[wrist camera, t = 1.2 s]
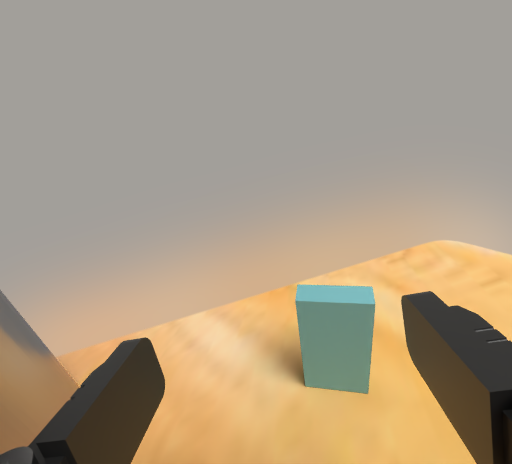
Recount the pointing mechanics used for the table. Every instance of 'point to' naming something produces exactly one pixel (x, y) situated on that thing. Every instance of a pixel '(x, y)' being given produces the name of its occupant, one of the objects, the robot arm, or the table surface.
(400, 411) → the table surface
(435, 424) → the table surface
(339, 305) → the domino
